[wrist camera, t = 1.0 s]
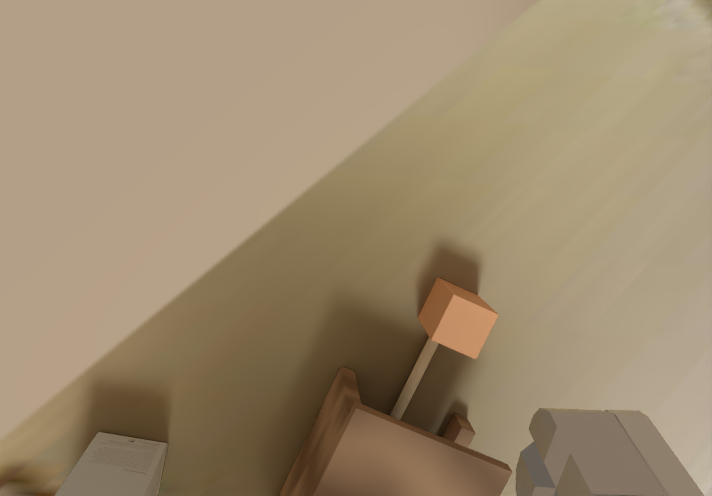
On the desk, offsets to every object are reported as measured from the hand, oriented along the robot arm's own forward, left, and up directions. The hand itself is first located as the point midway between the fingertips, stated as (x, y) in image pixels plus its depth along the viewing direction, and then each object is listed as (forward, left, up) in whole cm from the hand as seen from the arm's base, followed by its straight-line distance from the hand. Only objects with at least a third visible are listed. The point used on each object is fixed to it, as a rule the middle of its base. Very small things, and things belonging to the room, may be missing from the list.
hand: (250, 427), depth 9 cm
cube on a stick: (-18, +3, -39) cm, 43 cm away
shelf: (-21, +7, -39) cm, 45 cm away
